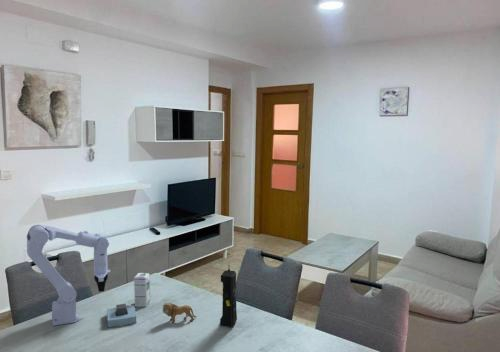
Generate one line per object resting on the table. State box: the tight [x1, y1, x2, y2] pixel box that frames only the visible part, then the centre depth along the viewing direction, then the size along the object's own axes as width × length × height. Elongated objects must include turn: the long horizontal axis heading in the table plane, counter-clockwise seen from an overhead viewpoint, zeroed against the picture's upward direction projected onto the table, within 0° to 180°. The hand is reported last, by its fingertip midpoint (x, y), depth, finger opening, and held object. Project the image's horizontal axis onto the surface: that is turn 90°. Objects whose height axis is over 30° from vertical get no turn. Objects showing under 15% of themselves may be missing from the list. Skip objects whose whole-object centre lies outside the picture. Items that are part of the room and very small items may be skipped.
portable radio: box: [219, 264, 238, 328], centre depth 165 cm, size 8×6×25 cm
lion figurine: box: [162, 302, 197, 324], centre depth 167 cm, size 15×5×9 cm, turn 112°
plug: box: [115, 303, 127, 316], centre depth 168 cm, size 4×4×6 cm
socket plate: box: [106, 304, 137, 328], centre depth 168 cm, size 12×12×3 cm
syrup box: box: [133, 272, 151, 308], centre depth 182 cm, size 6×6×14 cm
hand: (101, 291), depth 174 cm, fingers closed
